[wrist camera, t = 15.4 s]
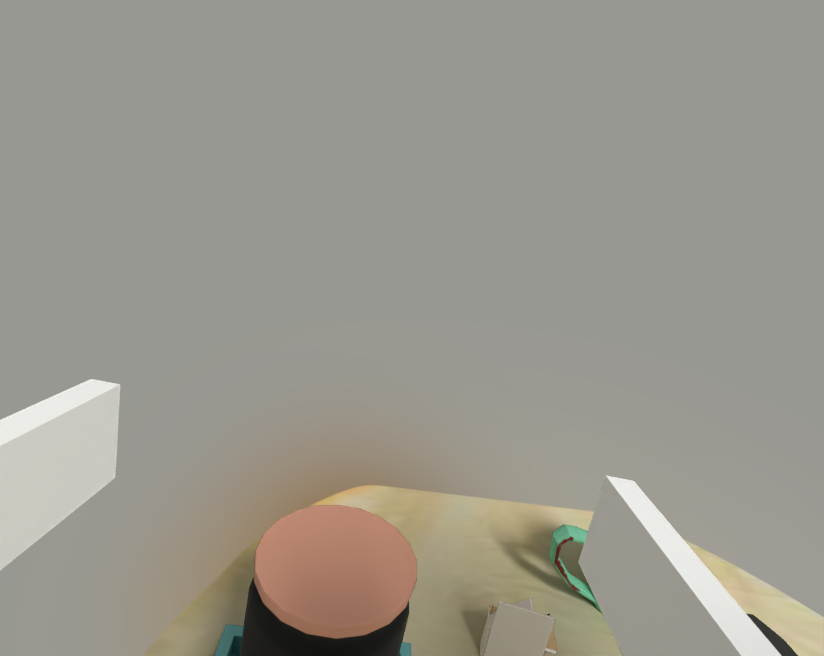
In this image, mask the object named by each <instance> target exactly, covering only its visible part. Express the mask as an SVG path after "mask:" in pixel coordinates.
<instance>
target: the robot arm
mask: <svg viewBox="0 0 824 656" xmlns="http://www.w3.org/2000/svg"><path fill="white" fill-rule="evenodd" d="M119 398H120V385H119V384H114V383H109V382H104V381H99V380H93V379H90V380H88V381H86V382H84V383H81V384H79V385H77V386H75V387H72V388H70V389H68V390H66V391H64V392H61V393H59V394H57V395H55V396H52V397H50V398H48V399H46V400H44V401H41V402H39V403H37V404H35V405H33V406H30V407H28V408H26V409H24V410H21V411H19V412H17V413H15V414H13V415H10V416H8V417H6V418H4V419H1V420H0V570H1V569H2V568H4V567H5V566H6V565H8V564H9V563H10V562H11V561H12V560H14V559H15V558H16V557H17V556H19V555H20V554H21V553H22V552H24V551H25V550H26V549H27V548H29V547H30V546H31V545H32V544H33V543H35V542H36V541H37V540H38V539H40V538H41V537H42V536H43V535H45V534H46V533H47V532H48V531H50V530H51V529H52V528H53V527H55V526H56V525H57V524H58V523H60V522H61V521H62V520H63V519H64V518H66V517H67V516H68V515H69V514H71V513H72V512H73V511H74V510H75V509H77V508H78V507H79V506H80V505H82V504H83V503H84V502H85V501H87V500H88V499H89V498H90V497H92V496H93V495H94V494H95V493H97V492H98V491H99V490H100V489H102V488H103V487H104V486H105V485H107V484H108V483H109V482H110V481H112V480H113V479H114V478H115V474H116V455H117V434H118V417H119ZM578 563H579V565H580V567H581V569H582V571H583V574H584V576H585V578H586V580H587V582H588V584H589V586H590V588H591V590H592V593H593V595H594V597H595V599H596V601H597V603H598V605H599V607H600V609H601V612H602V614H603V616H604V618H605V620H606V622H607V624H608V626H609V629H610V631H611V633H612V635H613V637H614V639H615V641H616V643H617V645H618V648H619V650H620V652H621V654H622V656H798V655H797V654H796V653H795V652H794V651H793V650H792V648H791V647H790V646H789V645H788V644H787V643H786V642H785V641H784V640H783V639H782V638H781V637H780V636H779V635H777V634H776V633H775V632H774V631H772V630H771V629H770V628H769V627H768V626H766V625H765V624H764V623H763V622H761V621H760V620H759V619H758V618H757V617H755V616H754V615H752V614H746V613H745V612H744V611H743V610H742V608H741V607H740V606H739V605H738V604H737V602H736V601H735V600H734V599H733V598H732V597H731V595H730V594H729V593H728V592H727V591H726V589H725V588H724V587H723V586H722V585H721V584H720V582H719V581H718V580H717V579H716V578H715V577H714V575H713V574H712V573H711V572H710V571H709V569H708V568H707V567H706V566H705V565H704V564H703V562H702V561H701V560H700V559H699V558H698V556H697V555H696V554H695V553H694V552H693V551H692V549H691V548H690V547H689V546H688V545H687V543H686V542H685V541H684V540H683V539H682V538H681V536H680V535H679V534H678V533H677V532H676V530H675V529H674V528H673V527H672V526H671V525H670V523H669V522H668V521H667V520H666V519H665V517H664V516H663V515H662V514H661V513H660V512H659V511H658V509H657V508H656V507H655V506H654V505H653V503H652V502H651V501H650V500H649V499H648V497H646V495H645V494H644V493H643V492H642V490H641V489H640V488H639V487H638V486H637V484H636V483H635V482H634V481H632V480H626V479H621V478H615V477H610V476H606V477H605V480H604V483H603V486H602V489H601V492H600V495H599V499H598V502H597V505H596V508H595V511H594V514H593V517H592V521H591V524H590V527H589V530H588V533H587V536H586V539H585V542H584V546H583V549H582V552H581V555H580V558H579V561H578Z"/></svg>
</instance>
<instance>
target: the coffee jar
mask: <svg viewBox="0 0 824 656" xmlns="http://www.w3.org/2000/svg"><path fill="white" fill-rule="evenodd" d="M416 581H417V564H416V558H415V556H414V553H413V551H412V549H411V546H410V544H409V542H408V541H407V540H406V539H405V537H404V536H403V535H402V534H401V533H400V532H399V531H398V529H397V528H396V527H394V526H393V525H391V524H390V523H388V522H387V521H385V520H384V519H382V518H381V517H379V516H377V515H374V514H372V513H369V512H367V511H364V510H362V509H358V508H352V507H347V506H341V505H319V506H313V507H309V508H305V509H300V510H297V511H295V512H293V513H291V514H289V515H287V516H285V517H283V518H281V519H279V520H278V521H277V522H276V523H274V525H273V526H271V527H270V528H269V529H268V530H267V531H266V532H265V533H264V534H263V536H262V539H261V541H260V543H259V545H258V547H257V549H256V551H255V561H254V578H253V580H252V582H251V585H250V587H249V594H248V601H247V607H246V614H245V621H244V628H243V635H242V641H241V648H240V655H239V656H399V652H400V648H401V644H402V640H403V636H404V632H405V628H406V623H407V619H408V615H409V599H410V596H411V594H412V592H413V589H414V587H415V584H416Z"/></svg>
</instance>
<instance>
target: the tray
mask: <svg viewBox="0 0 824 656" xmlns="http://www.w3.org/2000/svg"><path fill="white" fill-rule="evenodd" d="M243 628H244V626H237V625H227V624H226V627H225V629H224V632H223V634H222V637H221V640H220V642H219V645H218V648H217V650H216V653H215V655H214V656H239V655H240V648H241V641H242V635H243ZM399 656H411V643H403V642H402V644H401V648H400V652H399Z"/></svg>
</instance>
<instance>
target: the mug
mask: <svg viewBox="0 0 824 656" xmlns="http://www.w3.org/2000/svg"><path fill="white" fill-rule="evenodd" d="M587 533H588V531H586V530H583V529H581V528H578V527H575V526H570V525H562V526H561V527H559V528H558V529H556V530H555V531H554V532H553V534H552V540H551V546H550V552H549V557H550V560H551V562H552V563H553V565H554V566H555V568H556V569H557V571H558V572H559V574H560V575H561V577H562V578H563V580H564V581H565V583H566V584H567V585H568V587H570V588H571V589H573V590H575V591H576V592H578V593H579V594H581V595H583V596H584V597H586V598H587V599H589V600H591V601H592V602H593V603H594V605H595V606H596V608H597V609H598V610H599V611H600V612H601V609H600V607H599V605H598V603H597V601H596V599H595V597H594V595H593V593H592V590H591V588H590V586H589V585H587V584H586V583H584V582H583V581H581V580H579V579H578V578H576V577H574V576H573V575H571V574H570V573H568V571H567V569H566V567H565V566H564V564H563V562H562V561H561V559H560V557H559V556H560V549H561V545H562V544H564V543H566V542H567V541H572V542H580V543H582V544H584V542H585V539H586V536H587ZM601 613H602V612H601Z"/></svg>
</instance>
